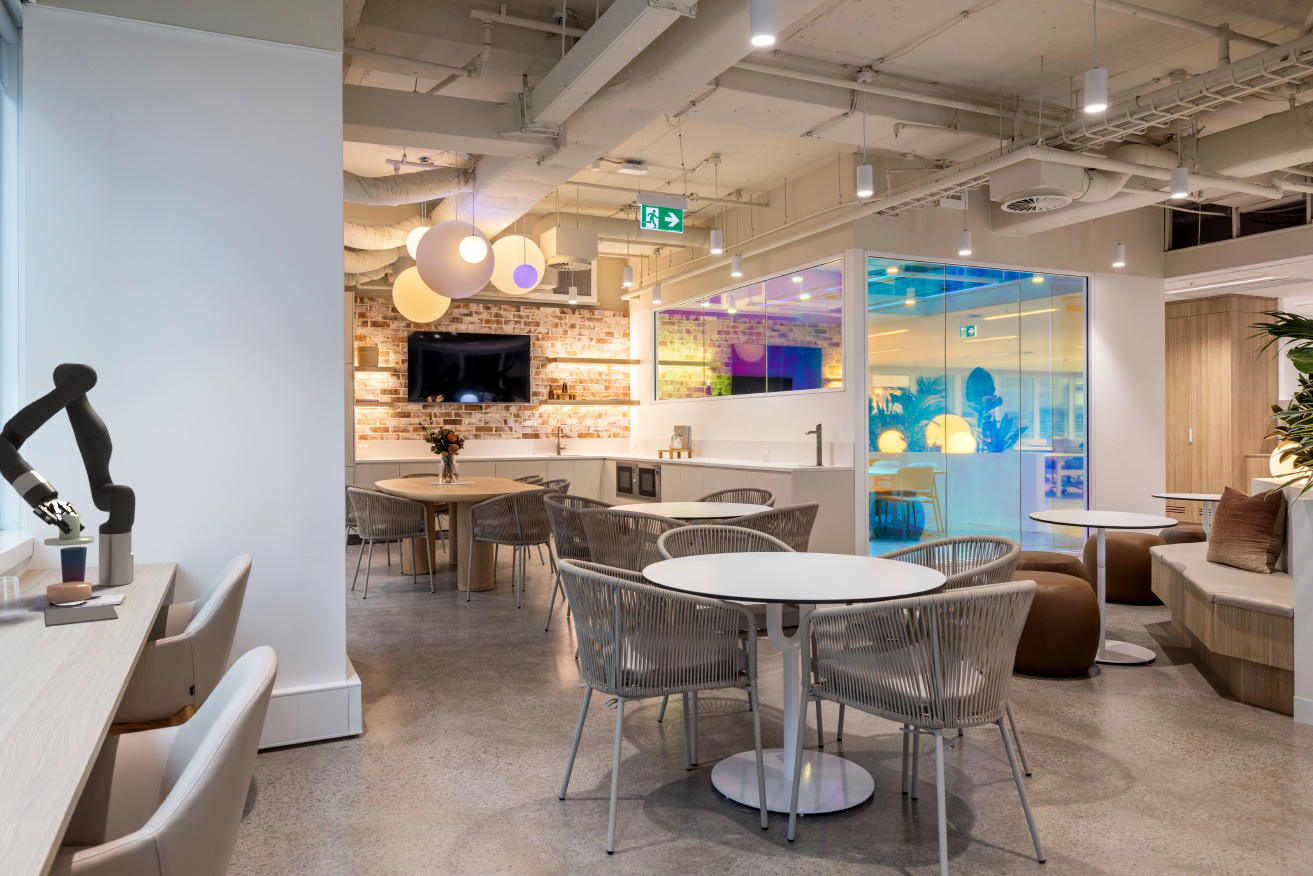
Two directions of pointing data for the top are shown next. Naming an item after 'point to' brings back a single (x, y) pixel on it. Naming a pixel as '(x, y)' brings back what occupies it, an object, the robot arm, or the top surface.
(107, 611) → the mat
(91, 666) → the top surface
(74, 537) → the lid
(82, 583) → the bowl
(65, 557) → the cup
